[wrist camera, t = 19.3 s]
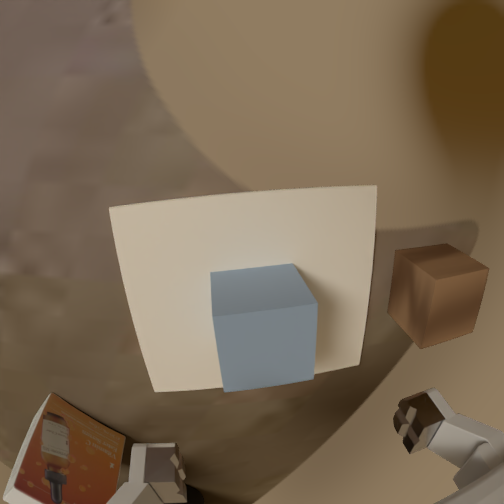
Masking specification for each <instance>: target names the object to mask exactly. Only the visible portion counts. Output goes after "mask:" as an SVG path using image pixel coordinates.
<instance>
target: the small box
mask: <svg viewBox="0 0 504 504" xmlns="http://www.w3.org/2000/svg"><path fill="white" fill-rule="evenodd" d="M125 439H126V437H125V436H124V435H121V434H119V433H117V432H115V431H113V430H111V429H109V428H108V427H106V426H104V425H102V424H100V423H99V422H97V421H95V420H94V419H92V418H90V417H89V416H87V415H85V414H84V413H82V412H81V411H79V410H77V409H76V408H74V407H73V406H71V405H70V404H68V403H67V402H65V401H64V400H63V399H61V398H60V397H59V396H57V395H56V394H54V393H50V394H49V396H48V397H47V398H46V400H45V401H44V403H43V404H42V406H41V407H40V409H39V410H38V412H37V414H36V415H35V417H34V419H33V421H32V423H31V426H30V428H29V430H28V433H27V435H26V437H25V440H24V442H23V444H22V447H21V449H20V452H19V454H18V457H17V460H16V462H15V465H14V467H13V470H12V473H11V476H10V478H9V481H8V484H7V487H6V490H5V493H4V496H3V500H5V501H6V502H8V503H10V504H106V503H107V502H108V501H109V500H110V499H111V498H112V496H113V495H114V494H115V493H116V491H117V485H118V479H119V472H120V467H121V461H122V455H123V449H124V444H125Z"/></svg>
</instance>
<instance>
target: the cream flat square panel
mask: <svg viewBox="0 0 504 504" xmlns="http://www.w3.org/2000/svg"><path fill="white" fill-rule="evenodd" d="M376 205H377V185H355V186H333V187H332V186H330V187H312V188H294V189H279V190H264V191H251V192H239V193H228V194H217V195H206V196H196V197H187V198H178V199H169V200H160V201H152V202H144V203H136V204H129V205H121V206H114V207H110V208H109V212H110V218H111V224H112V229H113V235H114V240H115V245H116V250H117V255H118V260H119V265H120V269H121V274H122V278H123V283H124V287H125V291H126V295H127V299H128V303H129V307H130V311H131V315H132V319H133V323H134V326H135V330H136V333H137V337H138V341H139V344H140V347H141V351H142V354H143V357H144V361H145V364H146V367H147V370H148V373H149V376H150V379H151V382H152V385H153V388H154V391H155V392H168V391H185V390H198V389H210V388H220V387H223V383H222V377H221V371H220V364H219V358H218V352H217V345H216V338H215V332H214V325H213V318H212V301H211V280H210V272H218V271H227V270H236V269H245V268H255V267H264V266H272V265H281V264H290V263H293V265H294V266H295V268H296V269H297V271H298V273H299V274H300V276H301V277H302V279H303V280H304V282H305V283H306V285H307V287H308V288H309V290H310V291H311V293H312V295H313V296H314V298H315V299H316V301H317V302H318V314H317V335H316V352H315V367H314V374H317V373H322V372H327V371H332V370H337V369H342V368H347V367H351V366H356V365H359V363H360V357H361V351H362V345H363V338H364V332H365V325H366V318H367V310H368V302H369V294H370V285H371V275H372V265H373V254H374V241H375V225H376Z"/></svg>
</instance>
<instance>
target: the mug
mask: <svg viewBox="0 0 504 504" xmlns="http://www.w3.org/2000/svg"><path fill="white" fill-rule="evenodd" d="M186 489H187V502H184V503H163V504H204V498H203V496H202V495H201V493H200V492H198V491H197V490H196V489H194V488H192V487H189V486H187V485H186Z"/></svg>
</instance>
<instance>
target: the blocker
mask: <svg viewBox="0 0 504 504" xmlns="http://www.w3.org/2000/svg"><path fill="white" fill-rule="evenodd" d="M488 272H489V268H488V267H486V266H485V265H483V264H481V263H480V262H478V261H476V260H475V259H473V258H471V257H470V256H468V255H466V254H464V253H463V252H461V251H459V250H458V249H456V248H454V247H452V246H451V245H449V244H440V245H432V246H425V247H417V248H409V249H402V250H395V258H394V267H393V275H392V283H391V291H390V298H389V304H388V311H387V313H388V314H389V315H390V316H391V317H392V318H393V319H394V320H395V321H396V322H397V323H398V325H399V326H400V327H401V328H402V329H403V330H404V331H405V332H406V333H407V335H408V336H409V337H410V338H411V339H412V340H413V341H414V342H415V344H416V345H417V346H418V347H419V348H420V349H423V348H426V347H429V346H433V345H436V344H439V343H442V342H445V341H448V340H451V339H454V338H457V337H460V336H463V335H466V334H468V333H471V332H473V329H474V326H475V323H476V319H477V316H478V312H479V309H480V305H481V301H482V298H483V293H484V290H485V285H486V281H487V276H488Z"/></svg>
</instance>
